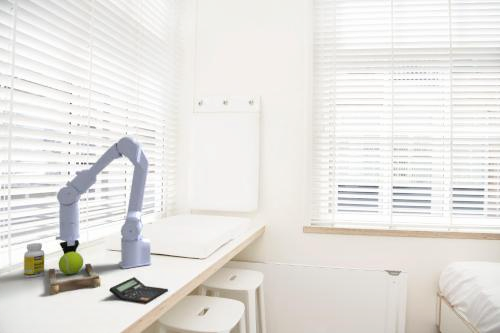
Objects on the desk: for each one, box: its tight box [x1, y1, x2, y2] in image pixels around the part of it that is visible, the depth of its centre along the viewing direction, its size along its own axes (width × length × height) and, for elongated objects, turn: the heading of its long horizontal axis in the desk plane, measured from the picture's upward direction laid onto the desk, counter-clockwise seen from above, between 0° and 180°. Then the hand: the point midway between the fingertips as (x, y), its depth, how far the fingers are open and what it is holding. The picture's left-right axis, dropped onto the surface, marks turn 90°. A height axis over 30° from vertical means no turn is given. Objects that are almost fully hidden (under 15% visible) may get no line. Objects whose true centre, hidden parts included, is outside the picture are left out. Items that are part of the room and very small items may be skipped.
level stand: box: [48, 263, 101, 296], centre depth 104 cm, size 12×22×2 cm, turn 32°
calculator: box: [109, 276, 169, 305], centre depth 92 cm, size 9×12×3 cm
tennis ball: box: [58, 251, 84, 276], centre depth 110 cm, size 7×7×7 cm
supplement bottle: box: [23, 242, 45, 279], centre depth 109 cm, size 5×5×10 cm
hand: (69, 263), depth 116 cm, fingers closed
